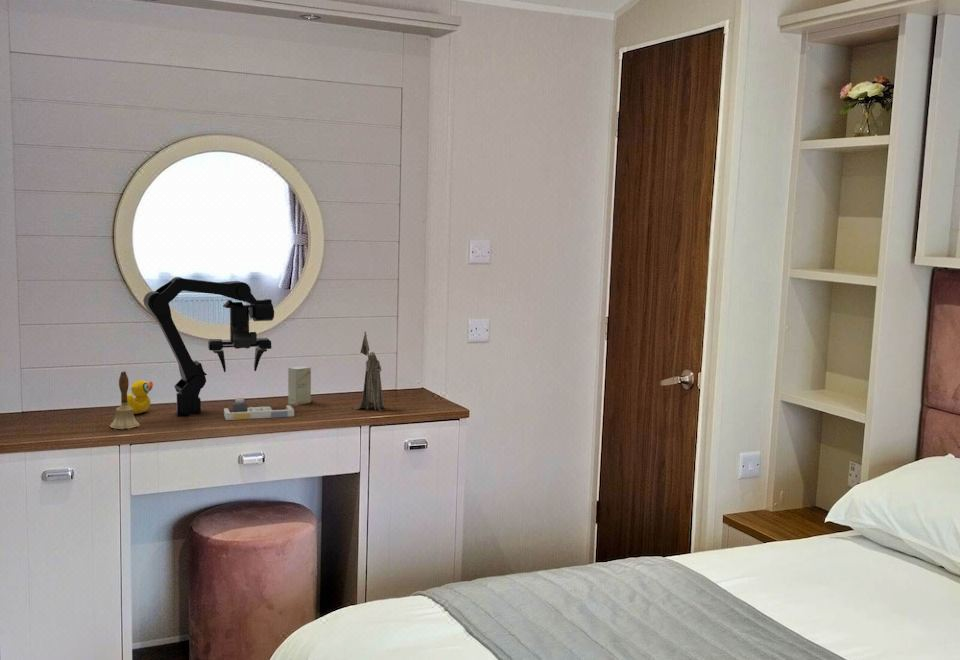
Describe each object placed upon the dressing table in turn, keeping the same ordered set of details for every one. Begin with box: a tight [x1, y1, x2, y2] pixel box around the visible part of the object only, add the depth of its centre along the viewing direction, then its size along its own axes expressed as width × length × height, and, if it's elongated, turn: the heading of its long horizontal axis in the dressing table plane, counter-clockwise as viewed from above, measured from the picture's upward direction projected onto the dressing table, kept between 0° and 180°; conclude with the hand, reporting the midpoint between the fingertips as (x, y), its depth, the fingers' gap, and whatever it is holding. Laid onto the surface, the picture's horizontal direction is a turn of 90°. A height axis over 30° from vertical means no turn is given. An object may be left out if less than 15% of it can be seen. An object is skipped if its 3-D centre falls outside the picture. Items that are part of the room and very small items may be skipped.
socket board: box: [223, 404, 295, 421], centre depth 284 cm, size 20×11×2 cm, turn 110°
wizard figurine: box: [354, 331, 386, 412], centre depth 300 cm, size 10×8×25 cm
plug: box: [231, 397, 248, 412], centre depth 284 cm, size 4×4×6 cm
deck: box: [247, 406, 273, 412], centre depth 294 cm, size 10×7×1 cm
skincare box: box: [287, 365, 312, 406], centre depth 306 cm, size 6×4×12 cm
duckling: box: [127, 379, 154, 415], centre depth 288 cm, size 11×5×10 cm, turn 158°
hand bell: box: [109, 370, 141, 429], centre depth 269 cm, size 8×8×16 cm
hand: (240, 371), depth 296 cm, fingers open, 9 cm apart
